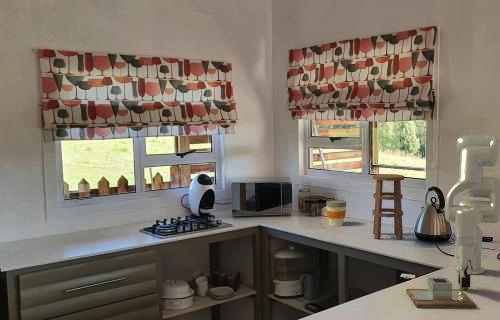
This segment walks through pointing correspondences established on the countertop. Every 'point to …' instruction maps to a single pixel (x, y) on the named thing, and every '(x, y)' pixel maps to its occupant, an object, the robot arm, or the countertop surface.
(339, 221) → the reusable coffee cup
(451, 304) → the walnut board
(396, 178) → the stool
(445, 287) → the grey stepped block
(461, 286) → the hinge pin
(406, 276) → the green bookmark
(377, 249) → the countertop surface
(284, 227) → the countertop surface
